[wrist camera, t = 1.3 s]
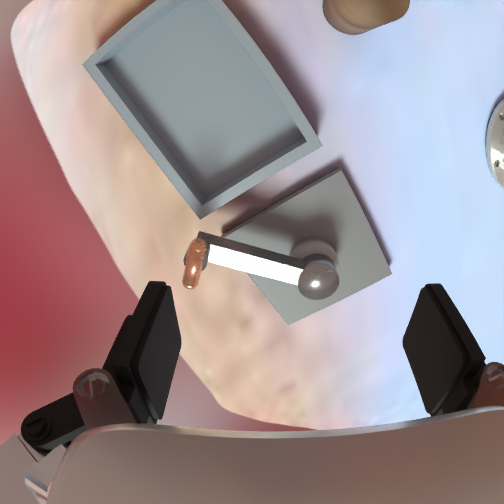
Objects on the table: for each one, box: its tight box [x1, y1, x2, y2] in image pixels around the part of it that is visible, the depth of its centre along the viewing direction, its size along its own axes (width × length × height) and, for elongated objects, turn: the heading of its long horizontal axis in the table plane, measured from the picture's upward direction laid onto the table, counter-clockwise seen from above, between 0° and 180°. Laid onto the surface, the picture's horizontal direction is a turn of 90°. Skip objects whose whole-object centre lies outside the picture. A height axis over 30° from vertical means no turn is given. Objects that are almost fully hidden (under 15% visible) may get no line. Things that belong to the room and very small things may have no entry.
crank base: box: [221, 168, 392, 325], centre depth 33 cm, size 14×14×3 cm
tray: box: [82, 0, 323, 219], centre depth 25 cm, size 13×19×3 cm
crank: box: [182, 231, 339, 300], centre depth 29 cm, size 14×5×5 cm, turn 73°
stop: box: [323, 0, 410, 35], centre depth 18 cm, size 5×5×8 cm
